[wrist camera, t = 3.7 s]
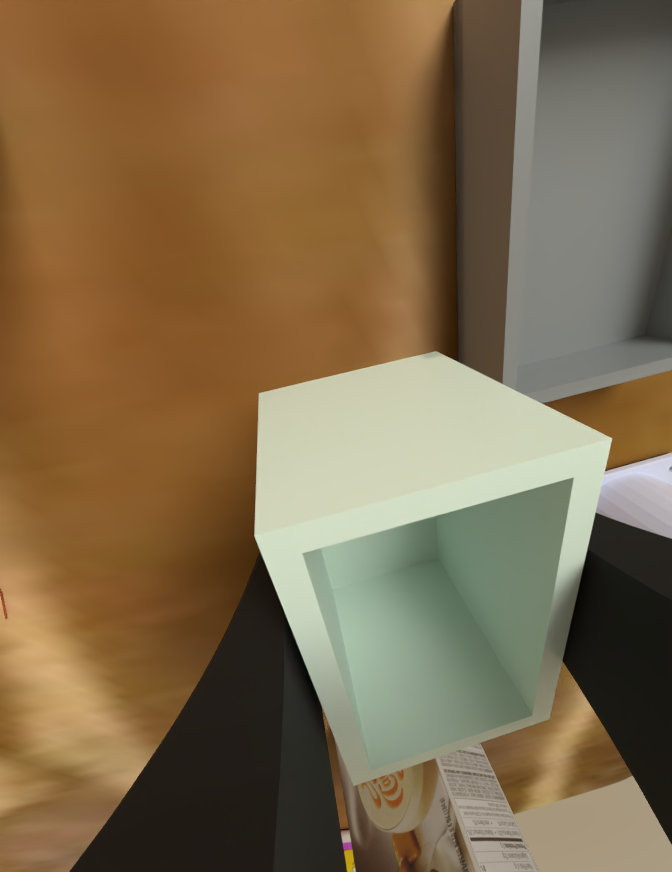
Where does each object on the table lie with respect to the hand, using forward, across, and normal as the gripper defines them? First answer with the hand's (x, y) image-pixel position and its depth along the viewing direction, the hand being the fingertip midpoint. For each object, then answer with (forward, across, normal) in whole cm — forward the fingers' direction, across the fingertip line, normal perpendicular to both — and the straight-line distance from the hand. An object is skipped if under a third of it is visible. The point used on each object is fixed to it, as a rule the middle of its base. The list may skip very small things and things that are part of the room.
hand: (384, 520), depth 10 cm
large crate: (+8, -11, -6) cm, 15 cm away
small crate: (+2, 0, 0) cm, 2 cm away
